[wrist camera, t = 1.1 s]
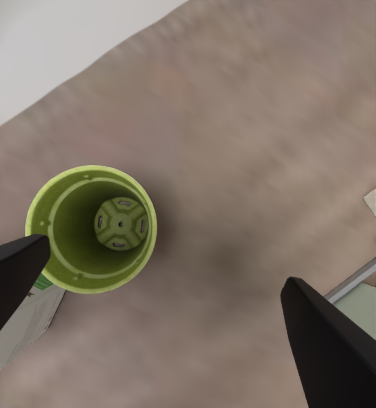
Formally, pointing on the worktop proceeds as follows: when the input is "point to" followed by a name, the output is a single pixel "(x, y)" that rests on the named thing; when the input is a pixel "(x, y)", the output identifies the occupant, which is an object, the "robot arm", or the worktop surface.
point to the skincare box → (29, 319)
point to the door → (360, 307)
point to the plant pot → (93, 228)
